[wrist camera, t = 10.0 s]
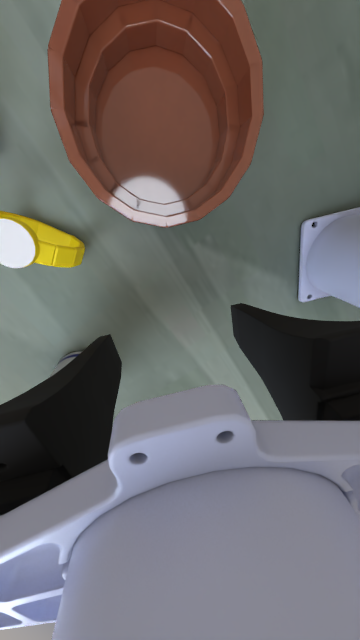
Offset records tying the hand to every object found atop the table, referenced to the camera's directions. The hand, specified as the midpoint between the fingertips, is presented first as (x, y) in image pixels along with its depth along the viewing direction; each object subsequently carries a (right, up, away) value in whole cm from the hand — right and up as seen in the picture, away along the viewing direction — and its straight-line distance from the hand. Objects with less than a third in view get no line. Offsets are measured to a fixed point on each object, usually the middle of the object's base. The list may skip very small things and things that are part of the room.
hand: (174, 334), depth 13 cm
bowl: (-1, +14, +3) cm, 14 cm away
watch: (-10, +8, +5) cm, 14 cm away
